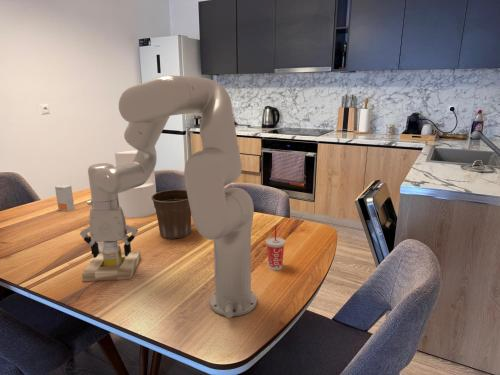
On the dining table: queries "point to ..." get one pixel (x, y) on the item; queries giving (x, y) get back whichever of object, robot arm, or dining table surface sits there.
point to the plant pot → (173, 213)
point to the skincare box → (64, 197)
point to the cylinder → (136, 191)
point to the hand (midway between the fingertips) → (112, 255)
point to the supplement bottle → (112, 254)
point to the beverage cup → (275, 252)
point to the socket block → (111, 268)
